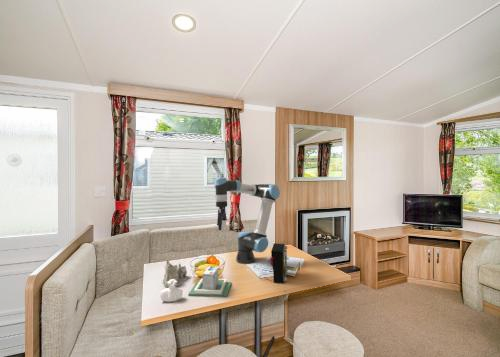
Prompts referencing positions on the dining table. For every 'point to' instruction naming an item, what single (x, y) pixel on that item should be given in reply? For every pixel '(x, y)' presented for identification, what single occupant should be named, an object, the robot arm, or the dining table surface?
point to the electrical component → (279, 262)
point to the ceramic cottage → (174, 274)
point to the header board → (218, 292)
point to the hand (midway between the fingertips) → (222, 232)
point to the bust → (171, 292)
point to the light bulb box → (210, 278)
